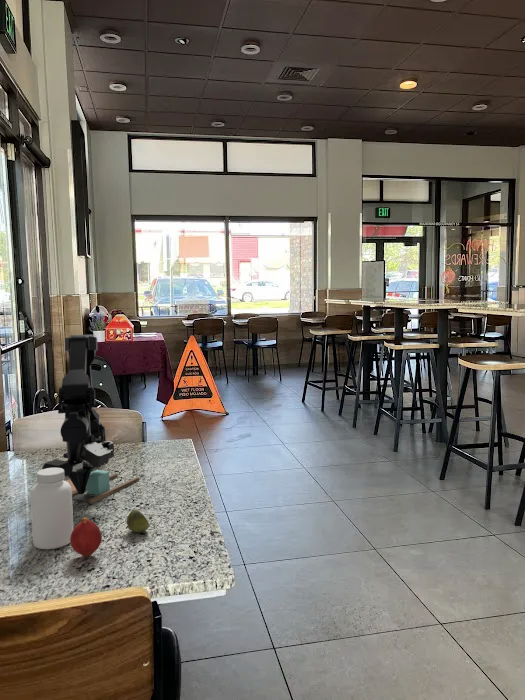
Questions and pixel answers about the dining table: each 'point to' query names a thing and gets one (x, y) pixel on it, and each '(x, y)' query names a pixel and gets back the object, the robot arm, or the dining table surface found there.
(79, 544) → the onion
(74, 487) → the tile
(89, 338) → the robot arm
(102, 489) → the block
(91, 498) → the chute
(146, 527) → the lime
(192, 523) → the dining table surface
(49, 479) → the pill bottle
